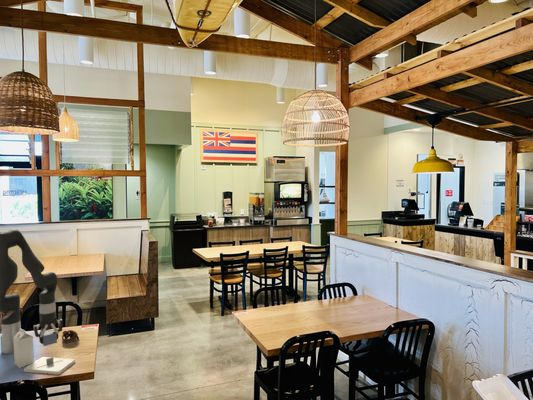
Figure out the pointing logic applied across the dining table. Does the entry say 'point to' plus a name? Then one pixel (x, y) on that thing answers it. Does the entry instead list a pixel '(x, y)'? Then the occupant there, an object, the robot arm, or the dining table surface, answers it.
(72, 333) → the dark brown rounded lump
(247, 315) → the dining table surface
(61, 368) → the shaft plate
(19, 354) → the milk carton
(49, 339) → the blue-grey block
